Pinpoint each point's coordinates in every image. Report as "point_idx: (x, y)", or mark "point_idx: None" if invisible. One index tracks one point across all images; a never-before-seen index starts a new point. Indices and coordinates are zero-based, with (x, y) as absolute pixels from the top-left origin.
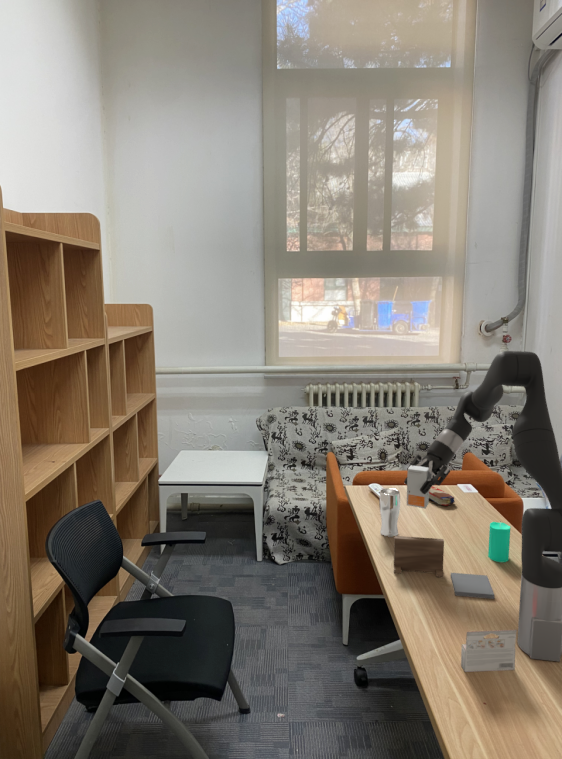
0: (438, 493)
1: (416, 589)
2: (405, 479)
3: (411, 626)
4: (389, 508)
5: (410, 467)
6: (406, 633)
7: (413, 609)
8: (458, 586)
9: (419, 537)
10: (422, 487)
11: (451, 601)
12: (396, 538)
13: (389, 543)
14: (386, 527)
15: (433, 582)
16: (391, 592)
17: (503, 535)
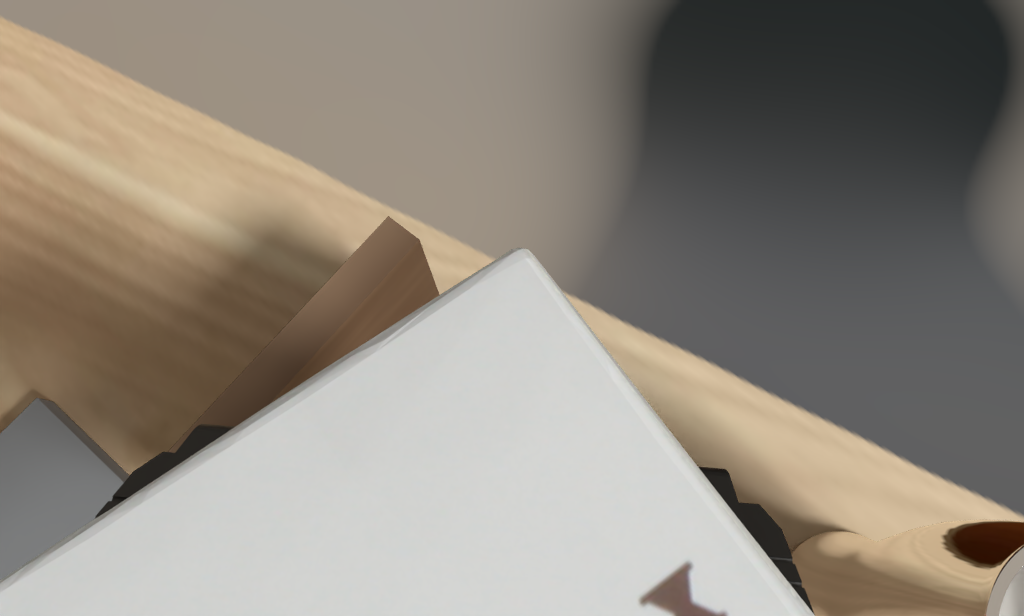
0: None
1: (217, 272)
2: (769, 528)
3: (47, 78)
4: (900, 558)
5: (582, 414)
6: (33, 38)
7: (116, 155)
8: (53, 450)
9: (286, 383)
10: (181, 455)
11: (37, 345)
12: (379, 226)
13: None
14: (839, 549)
15: (206, 395)
16: (272, 158)
17: None
